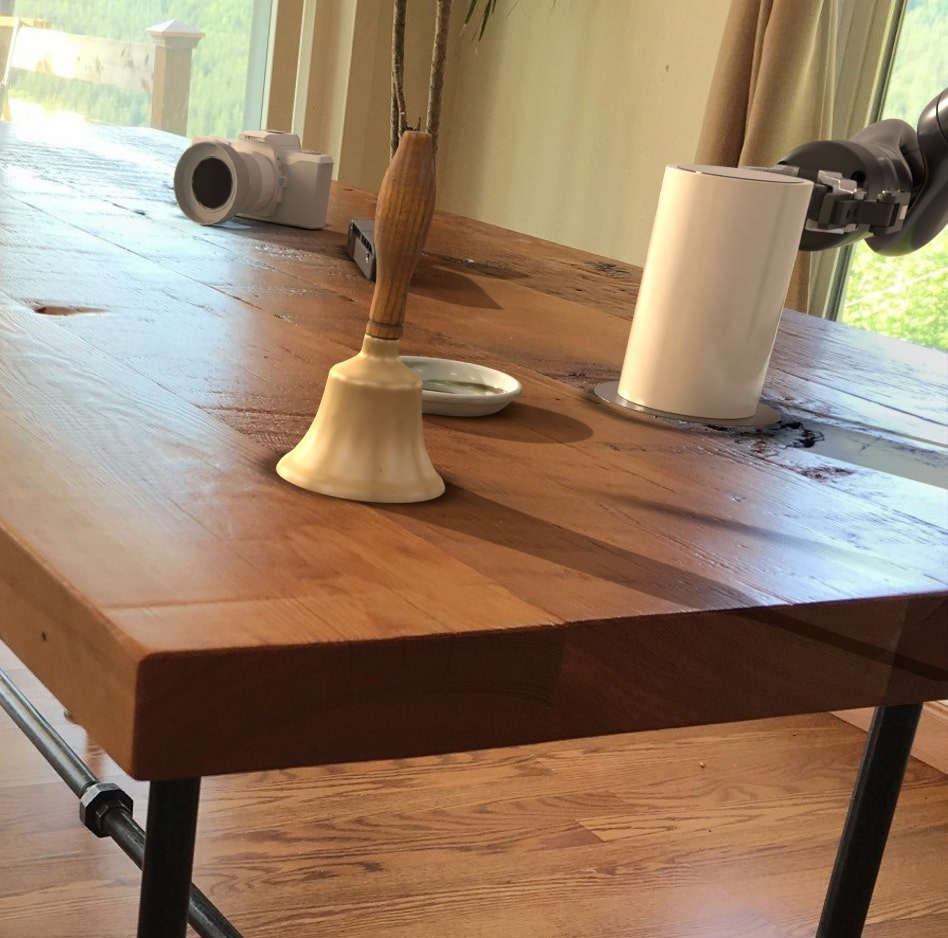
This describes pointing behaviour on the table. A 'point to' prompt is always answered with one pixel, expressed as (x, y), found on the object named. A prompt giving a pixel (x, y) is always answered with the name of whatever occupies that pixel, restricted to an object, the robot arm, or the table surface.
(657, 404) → the tall white cylinder
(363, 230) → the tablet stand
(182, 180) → the digital camera
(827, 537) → the table surface
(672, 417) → the disc
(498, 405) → the saucer
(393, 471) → the hand bell
